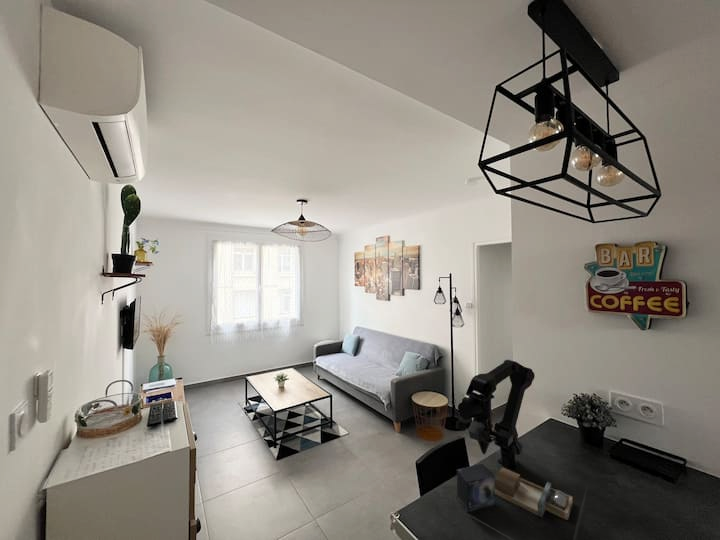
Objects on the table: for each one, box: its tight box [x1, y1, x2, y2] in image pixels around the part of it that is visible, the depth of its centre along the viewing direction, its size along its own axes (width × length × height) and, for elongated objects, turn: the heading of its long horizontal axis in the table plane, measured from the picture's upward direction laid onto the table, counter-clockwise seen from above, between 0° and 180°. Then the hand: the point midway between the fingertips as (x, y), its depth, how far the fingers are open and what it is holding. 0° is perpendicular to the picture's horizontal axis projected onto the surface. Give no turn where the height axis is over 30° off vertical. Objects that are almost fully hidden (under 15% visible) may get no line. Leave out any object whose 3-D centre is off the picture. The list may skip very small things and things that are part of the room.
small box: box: [456, 463, 496, 514], centre depth 97 cm, size 11×6×10 cm, turn 105°
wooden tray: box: [495, 477, 574, 521], centre depth 98 cm, size 13×22×4 cm, turn 46°
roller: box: [552, 489, 568, 510], centre depth 94 cm, size 4×5×4 cm
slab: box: [495, 466, 521, 497], centre depth 103 cm, size 8×6×4 cm
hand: (484, 453), depth 109 cm, fingers closed
